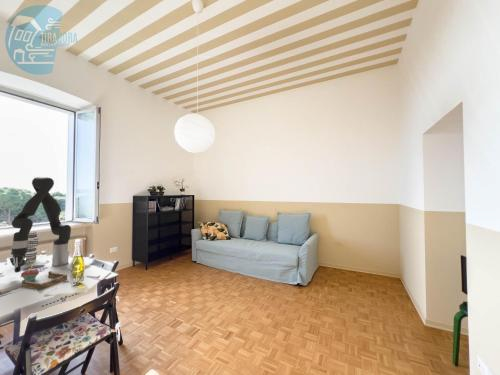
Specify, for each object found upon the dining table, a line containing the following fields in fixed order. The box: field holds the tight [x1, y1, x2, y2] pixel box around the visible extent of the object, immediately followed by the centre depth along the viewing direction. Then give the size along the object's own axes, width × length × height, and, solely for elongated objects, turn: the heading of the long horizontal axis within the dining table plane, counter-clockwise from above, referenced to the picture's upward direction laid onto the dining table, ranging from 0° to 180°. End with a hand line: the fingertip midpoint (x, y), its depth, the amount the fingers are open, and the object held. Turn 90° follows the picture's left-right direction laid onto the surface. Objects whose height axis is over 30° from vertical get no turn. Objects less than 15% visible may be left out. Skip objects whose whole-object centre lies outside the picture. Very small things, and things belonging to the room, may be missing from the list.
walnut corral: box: [21, 270, 68, 290], centre depth 138 cm, size 16×15×4 cm
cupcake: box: [20, 262, 40, 282], centre depth 141 cm, size 9×8×12 cm
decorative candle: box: [25, 230, 39, 264], centre depth 175 cm, size 9×9×25 cm
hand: (17, 271), depth 142 cm, fingers closed
